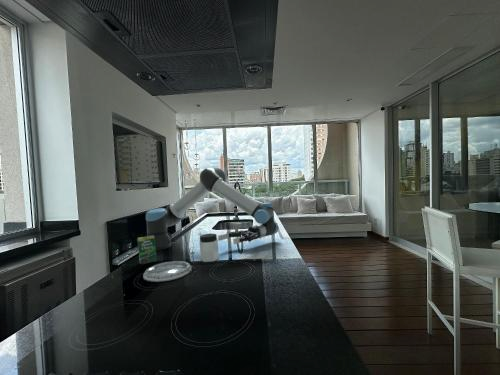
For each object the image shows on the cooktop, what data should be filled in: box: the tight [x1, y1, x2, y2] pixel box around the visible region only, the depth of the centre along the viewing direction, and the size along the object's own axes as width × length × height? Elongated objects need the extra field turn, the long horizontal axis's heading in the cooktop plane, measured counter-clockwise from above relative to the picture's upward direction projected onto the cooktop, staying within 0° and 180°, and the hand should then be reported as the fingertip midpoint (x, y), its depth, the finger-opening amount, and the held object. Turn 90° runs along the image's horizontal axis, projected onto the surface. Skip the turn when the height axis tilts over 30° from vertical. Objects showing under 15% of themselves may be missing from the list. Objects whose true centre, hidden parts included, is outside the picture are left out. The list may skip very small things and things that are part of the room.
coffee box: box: [137, 235, 158, 265], centre depth 128 cm, size 8×3×13 cm, turn 117°
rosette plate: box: [142, 260, 192, 283], centre depth 111 cm, size 20×20×2 cm
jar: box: [199, 233, 220, 263], centre depth 127 cm, size 9×8×12 cm
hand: (225, 239), depth 133 cm, fingers open, 13 cm apart
